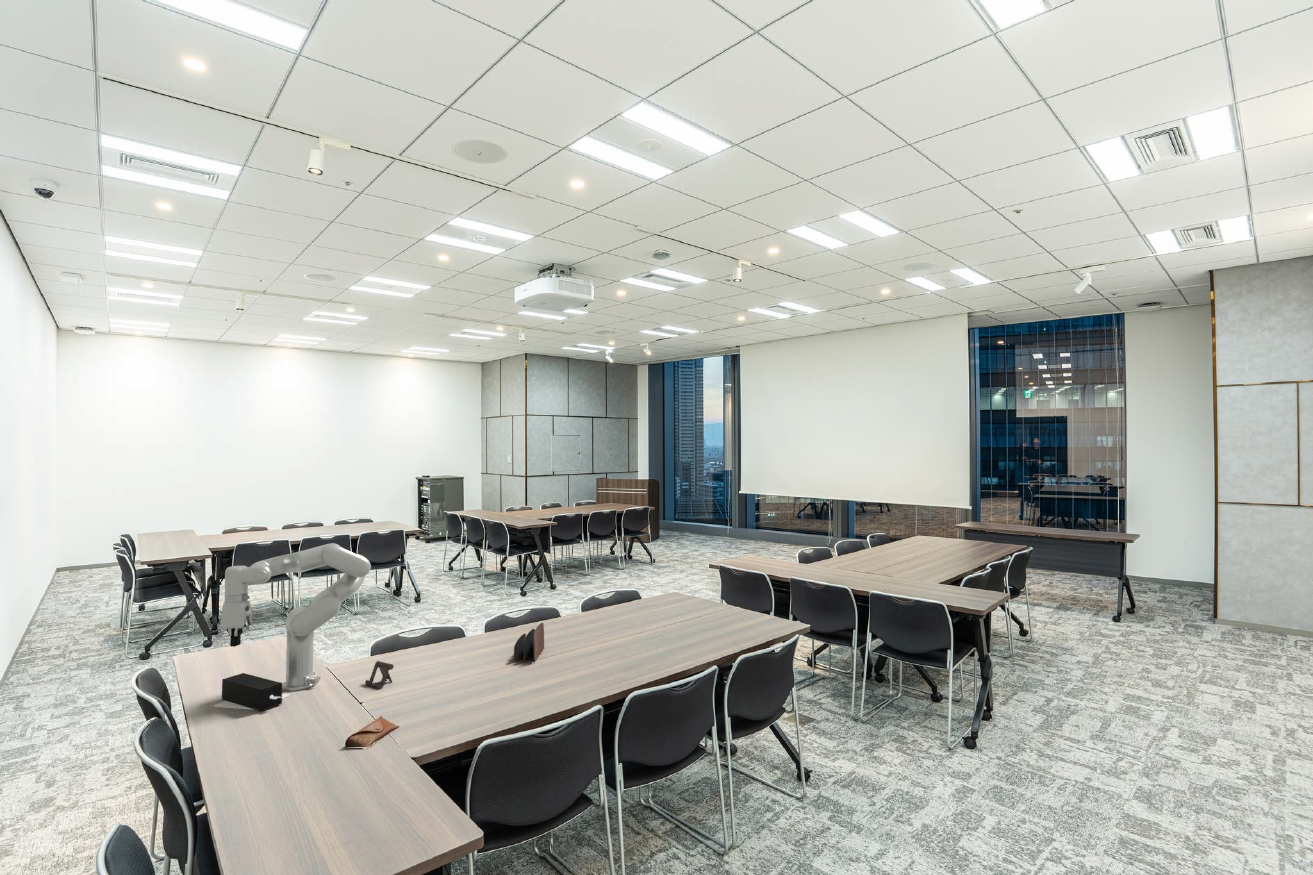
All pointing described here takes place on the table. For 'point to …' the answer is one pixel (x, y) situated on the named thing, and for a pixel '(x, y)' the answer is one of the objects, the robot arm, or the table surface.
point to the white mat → (231, 705)
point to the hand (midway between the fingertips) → (235, 645)
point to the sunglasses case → (371, 733)
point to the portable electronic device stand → (384, 671)
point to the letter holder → (529, 645)
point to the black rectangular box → (252, 691)
